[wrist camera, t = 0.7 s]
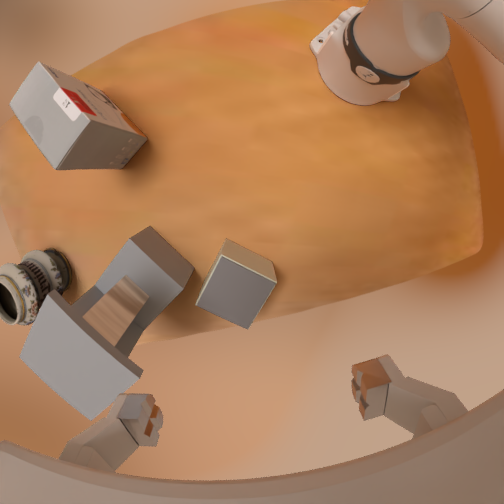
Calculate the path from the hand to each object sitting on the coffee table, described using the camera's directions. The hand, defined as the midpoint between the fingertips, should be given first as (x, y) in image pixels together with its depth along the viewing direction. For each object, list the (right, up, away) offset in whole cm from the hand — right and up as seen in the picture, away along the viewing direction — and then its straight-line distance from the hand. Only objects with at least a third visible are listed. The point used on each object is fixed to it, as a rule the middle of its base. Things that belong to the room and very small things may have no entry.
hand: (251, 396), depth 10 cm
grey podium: (-18, +2, +40) cm, 44 cm away
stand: (-3, +2, +41) cm, 41 cm away
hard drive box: (-25, +28, +33) cm, 50 cm away
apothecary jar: (-42, +2, +40) cm, 59 cm away
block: (-19, -1, +31) cm, 37 cm away
